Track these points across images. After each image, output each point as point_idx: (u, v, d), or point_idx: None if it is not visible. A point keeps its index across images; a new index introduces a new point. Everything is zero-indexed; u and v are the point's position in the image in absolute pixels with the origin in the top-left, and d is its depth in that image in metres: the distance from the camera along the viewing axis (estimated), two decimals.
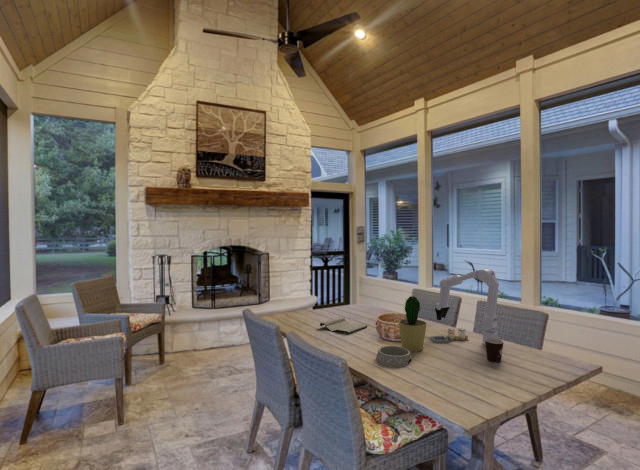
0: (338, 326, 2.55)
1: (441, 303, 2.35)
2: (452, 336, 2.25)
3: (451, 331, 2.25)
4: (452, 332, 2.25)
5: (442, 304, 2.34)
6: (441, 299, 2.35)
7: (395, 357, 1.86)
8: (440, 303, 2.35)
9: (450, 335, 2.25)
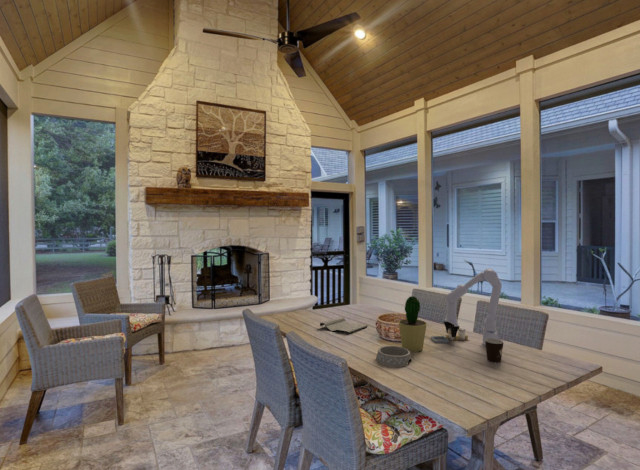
0: (338, 326, 2.55)
1: (453, 319, 2.24)
2: None
3: None
4: None
5: (454, 319, 2.24)
6: (452, 315, 2.24)
7: (395, 357, 1.86)
8: (451, 319, 2.24)
9: (450, 335, 2.25)
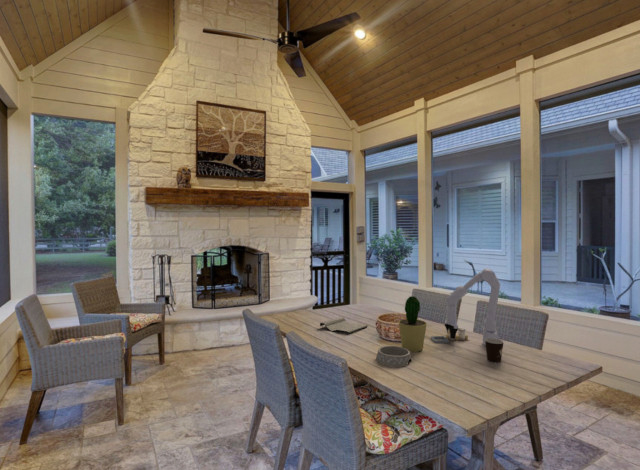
0: (338, 326, 2.55)
1: (453, 321, 2.24)
2: None
3: None
4: None
5: (454, 322, 2.24)
6: (452, 317, 2.24)
7: (395, 357, 1.86)
8: (452, 321, 2.24)
9: None
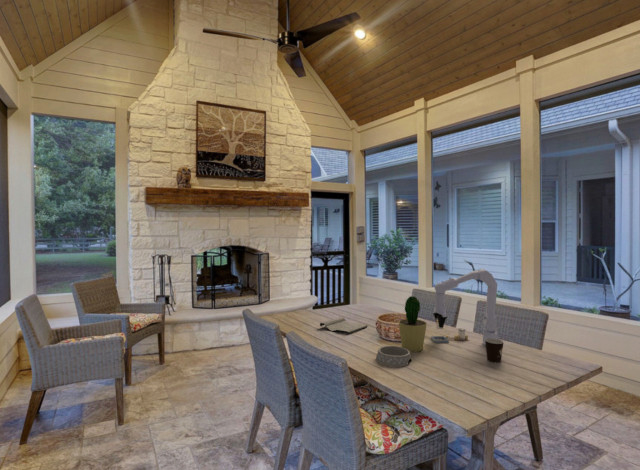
0: (338, 326, 2.55)
1: (441, 309, 2.21)
2: None
3: None
4: None
5: (442, 310, 2.21)
6: (441, 305, 2.21)
7: (395, 357, 1.86)
8: (440, 310, 2.21)
9: None
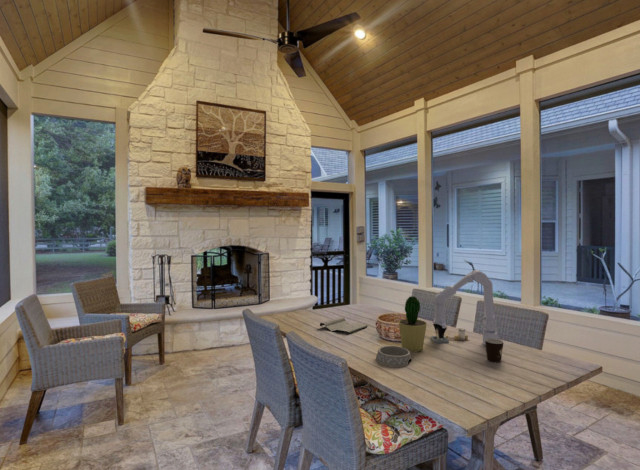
0: (338, 326, 2.55)
1: (441, 320, 2.21)
2: None
3: None
4: None
5: (442, 321, 2.21)
6: (440, 316, 2.21)
7: (395, 357, 1.86)
8: (440, 321, 2.21)
9: None
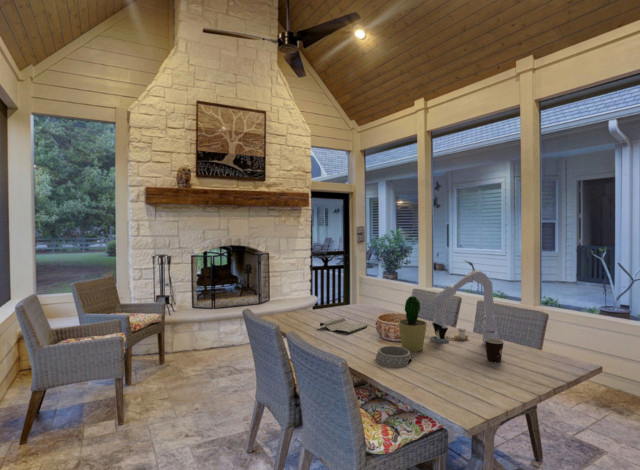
0: (338, 326, 2.55)
1: (441, 320, 2.21)
2: None
3: None
4: None
5: (442, 321, 2.21)
6: (440, 316, 2.21)
7: (395, 357, 1.86)
8: (440, 321, 2.21)
9: (438, 337, 2.22)
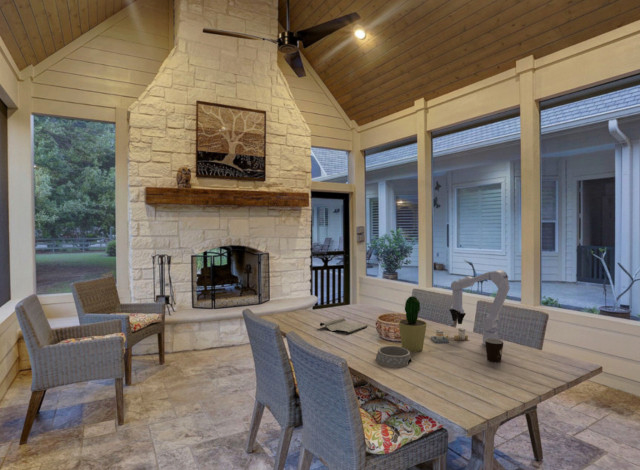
0: (338, 326, 2.55)
1: (459, 306, 2.28)
2: (441, 338, 2.22)
3: (440, 333, 2.22)
4: (441, 334, 2.22)
5: (460, 307, 2.28)
6: (458, 302, 2.28)
7: (395, 357, 1.86)
8: (458, 306, 2.28)
9: (439, 337, 2.22)
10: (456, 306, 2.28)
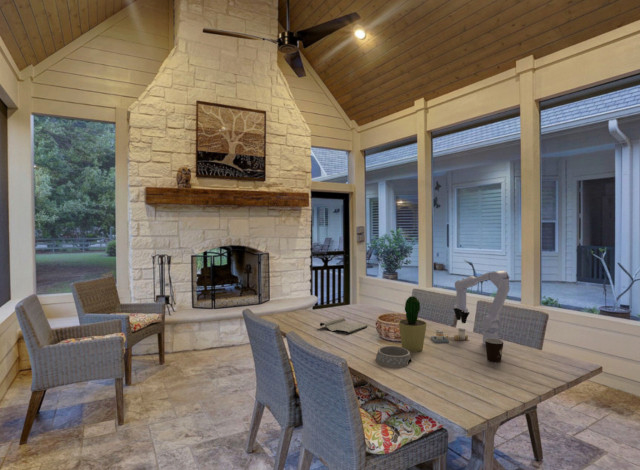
0: (338, 326, 2.55)
1: (463, 305, 2.30)
2: (441, 338, 2.22)
3: (440, 333, 2.22)
4: (441, 334, 2.22)
5: (464, 306, 2.30)
6: (462, 301, 2.30)
7: (395, 357, 1.86)
8: (461, 306, 2.30)
9: (439, 337, 2.22)
10: (460, 305, 2.30)
